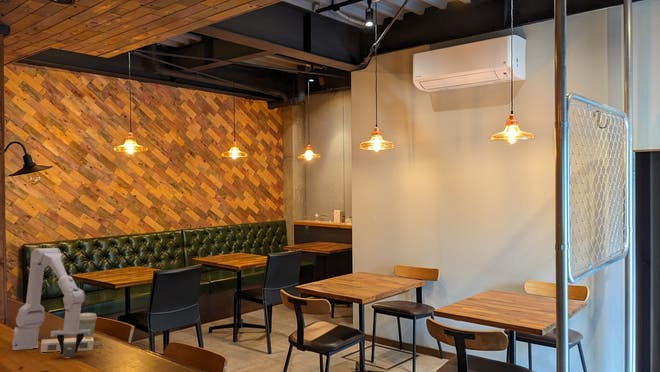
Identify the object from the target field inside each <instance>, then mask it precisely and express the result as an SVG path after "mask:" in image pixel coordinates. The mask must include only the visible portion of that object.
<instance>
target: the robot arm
mask: <svg viewBox="0 0 660 372" xmlns="http://www.w3.org/2000/svg"><path fill="white" fill-rule="evenodd" d="M62 257H63V255H62V252H61V250H60V248H58V247H50V248H49V247H47V248H43V247H42V248H41V247H37V248H34V250H32V252H31V253H30V261H29V262H30V263H29V266H30V267H29V274H28V275H29V277H28V283H27V293H26V300H25V304H23V306H21V307H19V308H18V313H17V314H16V317H15V322H16V325H17V326H16V327H14V331H13V340H11V341H12V342H11V346H12V347H11V348H12V351H20V350H21V351H22V350H34V349H33V348H37V349H39V341H38V340H39V333H40V331H39V330H40V327H41V326H42V324H43V323H44V321H45V319H46V315H45V307H44V306H43V305H42V304H41V299H42V297H41V296H42V291H43V290H42V289H43V282H44V281H43V280H44V274H45V273H44V272H45V268H47V267H50V268H51V269H52V271H53V272H54V273H55V275H56V277H57V279H58V281H57V285H58V286H59V289H60V290H61V292H62V294H63V295H64V296H63V297H62V300H63V304H64V307H63V308H64V310H65V311H64V321H63V329H59V330H51V331H50V338H52V337H57V338H56V339H58V341H59V344H60V348H61V352H60V355H62V354H63V344H64V338H65V337H66V336H76V337H75V338H76V349H75V354H77V353H78V351H77V350H78V347H79V345H80V343H81V341H82V339H83V337H84V335H90V329H79V322H80V314H81V310H82V304H83V303H84V302H85V300H86V294H85V291H84V290H83V289H81V288H80V287H78V285H77V284H76V281H75V280H74V278H73V277H72V276H71V275H68V273H67V271H66V268H65V266H64V264H63V262H62Z"/></svg>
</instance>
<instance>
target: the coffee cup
mask: <svg viewBox="0 0 660 372" xmlns="http://www.w3.org/2000/svg"><path fill="white" fill-rule="evenodd" d="M97 319H98V316H97V313H95V312H83V313H81V312H80V322H79V329H90V335H84V337H93V336H94V331H95V326H96V321H97ZM93 338H94V337H93Z"/></svg>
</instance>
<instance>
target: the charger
mask: <svg viewBox="0 0 660 372" xmlns="http://www.w3.org/2000/svg"><path fill="white" fill-rule="evenodd" d="M75 349H76V344H75V343H71V344H63V354H61V355H62V356H63V358H65V357H71V358H70V359H75V357H76V353H75ZM62 356H61V357H62Z"/></svg>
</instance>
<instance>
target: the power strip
mask: <svg viewBox="0 0 660 372" xmlns="http://www.w3.org/2000/svg"><path fill="white" fill-rule="evenodd" d="M71 343H75V344H76V337H67V338H65V337H64V344H71ZM94 347H103V343H95V340H94V337H83V339H82V341H81V343H80V345H79V347H78V350H77V352H83V351H94ZM47 351H60V352H59V353H61V348H60V344H59V341H58V339H57V338H50V339H47V338H46V339H41V343H40V353H41V352H47Z"/></svg>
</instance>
